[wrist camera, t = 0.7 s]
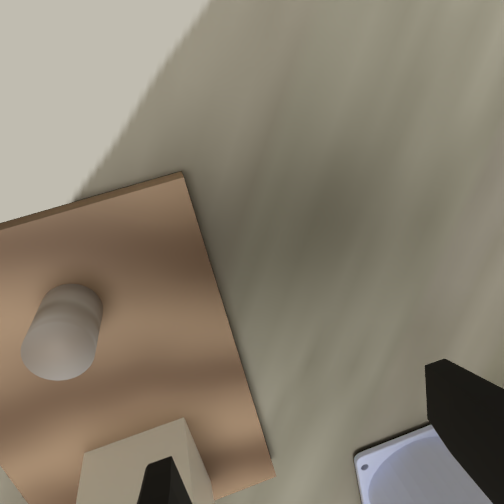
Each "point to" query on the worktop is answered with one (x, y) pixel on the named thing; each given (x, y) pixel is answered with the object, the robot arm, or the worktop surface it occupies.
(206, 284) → the brown rectangular board
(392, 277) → the worktop surface
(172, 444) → the hollow square socket
